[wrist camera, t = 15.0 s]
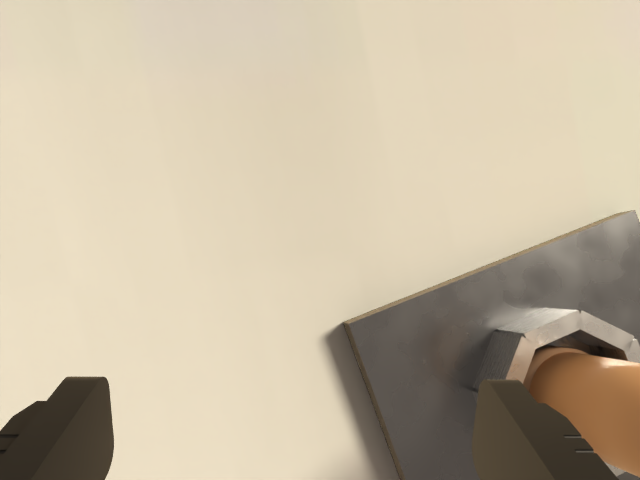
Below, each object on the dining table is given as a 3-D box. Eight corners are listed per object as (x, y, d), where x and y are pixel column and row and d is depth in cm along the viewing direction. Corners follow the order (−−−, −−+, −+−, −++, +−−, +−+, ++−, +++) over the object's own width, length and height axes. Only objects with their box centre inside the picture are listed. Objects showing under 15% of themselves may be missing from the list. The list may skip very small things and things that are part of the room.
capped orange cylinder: (493, 364, 30) (691, 413, 18) (569, 332, 31) (806, 357, 19) (524, 452, 30) (747, 567, 17) (600, 417, 31) (860, 500, 18)
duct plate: (343, 322, 31) (361, 328, 26) (617, 213, 34) (674, 202, 30) (437, 579, 30) (472, 630, 26) (704, 440, 34) (775, 464, 30)
